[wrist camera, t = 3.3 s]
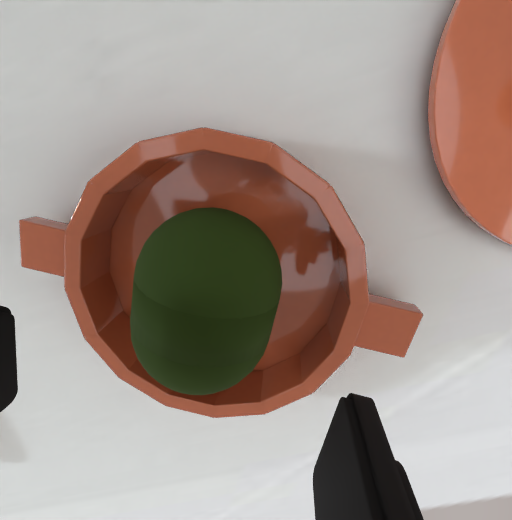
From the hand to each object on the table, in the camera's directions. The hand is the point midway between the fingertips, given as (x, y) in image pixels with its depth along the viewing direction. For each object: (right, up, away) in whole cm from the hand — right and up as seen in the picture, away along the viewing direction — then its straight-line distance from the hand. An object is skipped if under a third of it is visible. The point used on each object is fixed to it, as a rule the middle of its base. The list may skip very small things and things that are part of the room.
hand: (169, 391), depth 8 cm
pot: (+1, +3, +8) cm, 8 cm away
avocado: (+1, +3, +7) cm, 8 cm away
